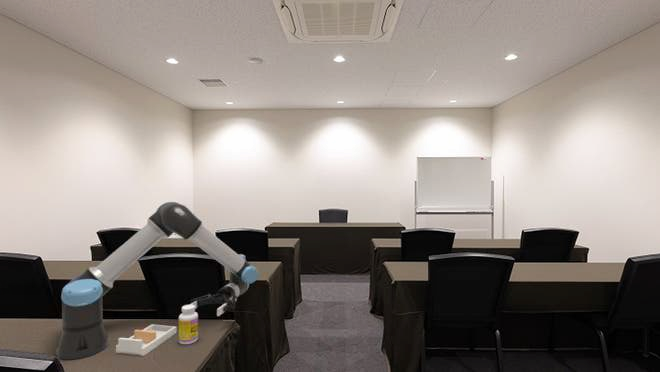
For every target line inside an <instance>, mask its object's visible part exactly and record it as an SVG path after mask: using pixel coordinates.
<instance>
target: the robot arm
mask: <svg viewBox="0 0 660 372" xmlns="http://www.w3.org/2000/svg"><path fill="white" fill-rule="evenodd" d="M173 234H176V235H177V236H179V237H180V238H182V239H183V240H185V241H187V240H188V241H191V242H192V243H193V244H194V245H196V246H197V247H198V248H200V249H201V250H202V251H203V252H205V253H206V254H207V255H208V256H210V257H211V258H212V259H214V260H215V261H216V262H218V263H219V264H221V265H222V266H223V267H225V269H227V270H228V271H229V283H228V284H226V285H224V286H223V287H221V288H220V289H218V291H217V292H216V294H213V295H212V294H211V293H207V294H206V295H202V296H200V297H196V298H192V299H190V304H188V305H195V310H196V309H197V308H198V307H200V306H205V305H215V304H221V306H219V307H218V308H217V309H216V316H217V317H220V316H221V315H223V314H224V313H225V312H227V311H228V310H229V311H230V310H236V303H237V301H238V300H237V299H238V297H240V296H241V295H243V294H244V293H245V292H246V291H247V290H248V289H249V287H250V284H253V283H254V282H256V281H257V280H258V278H259V271H258V269H257V268H256V267H255V266H254V265H252V264H251V263H249V262H248V261H247V260H246V255H244V254H242V253H240V254H238V253H237V252H236V251H234V250H233V249H232V248H231V247H229V245H227V244H226V243H225V242H223V241H222V240H221V239H220V238H218V237H217V236H216V235H215V234H214V233H212V232H211V231H210V230H209V229H208V228H206V227H205V226H204V225H203V222H202V221H201V219H199V218H198V217H197V216H196V215H195V214H194V213H193V212H192V211H191V210H190V209H189V208H188V207H187V206H186V205H184V204H181V203H178V202H176V201H175V202H174V201H168V202H165V203H163V204H161V205H160V206H159V207H158V208H157V209H156V211H155V212H154V213H153V214H151V215H150V217H148V218H147V223H146V225H144V226H143V227H142V228H141V229H139V230H138V231H137V232H136V233H135V234H134V235H132V236H131V237H130V238H129V239H128V240H127V241H125V242H124V243H123V244H121V245H120V246H119V247H118V248H117V249H115V251H113V252H112V253H110V255H108V256H107V258H105V259H104V260H103V261H101V262H100V263H99V264H98V265H97V266H90V267H88V268H87V269H86V270H85V271H83V272H82V273H81V274H79V275H77V276H75V277H73V278H72V279H71V280H70V281H69V282H68V283H67V284H65V286H63V288H62V290H61V294H60V295H61V296H60V298H61V309H62V310H61V311H62V312H61V316H62V317H61V318H62V319H61V322H62V332H61V334H60V338H59V343H58V344H57V347H56V351H55V353H56V355H55V356H56V357H57V359H61V360H76V359H77V360H78V359H82V358H87V357H89V356H92V355H94V354H98V353H100V352H101V351H103V350H105V349H106V348H107V347H108V346H109V334H107V330H106V328H105V326H104V324H103V296H105V295H106V293H108V292H109V291H110V290H111V289H112V288H113V287H114V282H115V281H116V280H117V279H118V278H119V277H120V276H121V275H122V274H124V273H125V272H126V271H127V270H129V268H130V267H132V266H133V265H134V264H135V263H136V262H137V261H138V260H139V259H141V257H143V256H144V255H146V253H147V252H148V251H150V250H151V249H152V248H153V247H155V245H156V244H158V243H159V242H160V241H161V240H162V239H168V238H170V237H172V235H173Z"/></svg>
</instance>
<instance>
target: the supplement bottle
mask: <svg viewBox="0 0 660 372" xmlns="http://www.w3.org/2000/svg"><path fill="white" fill-rule="evenodd" d="M181 312H182V313H180V314H179V316H178V343H180V344H181V345H191V344H193V343H194V344H195V342H197V341H198V339H199V314H198V312H196V309H195V305H189V304H184V305H183V306H181Z"/></svg>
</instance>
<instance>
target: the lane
mask: <svg viewBox="0 0 660 372" xmlns="http://www.w3.org/2000/svg"><path fill="white" fill-rule="evenodd" d="M177 328H178V327H177V326H175V325H174V326H173V325H164V324H163V325H162V324H161V325H160V324H155V323H154V324H153V323H152V324H150V325H148V326H146V327H145V328H143V329H142V330H145V331H155V332H156V339H155V340H153V341H152V342H150V343H143V340H139V339H134V334H133V335H132V336H130V337H129V338H127V337H119V338H118V341H117V342H118V343H117V344H116V345H115V353H116V354H124V355H133V356H141V357H143V356H146V355H147V354H149V353H150V352H151V351H153V350H154V349H157V347H159V346H160V345H161V344H163V343H164V342H166V341H168V340H169V339H170V338H171V337H173V336H175V335H176V334H177V333H178V329H177Z"/></svg>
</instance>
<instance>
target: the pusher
mask: <svg viewBox="0 0 660 372" xmlns="http://www.w3.org/2000/svg"><path fill="white" fill-rule="evenodd" d="M133 335H134V339H139V340H143V343H150V342H152V341H153V340H155V339H156V332H155V331H145V330H143V329H135V330H133Z"/></svg>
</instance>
